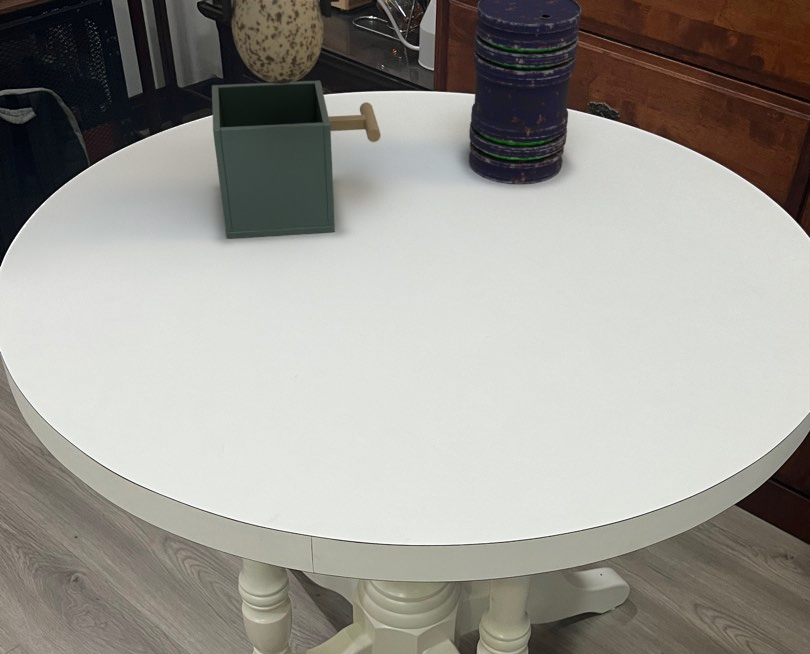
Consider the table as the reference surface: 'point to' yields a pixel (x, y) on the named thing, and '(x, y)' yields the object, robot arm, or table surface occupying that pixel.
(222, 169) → the green box with handle
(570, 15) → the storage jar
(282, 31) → the decorative egg
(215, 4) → the robot arm
